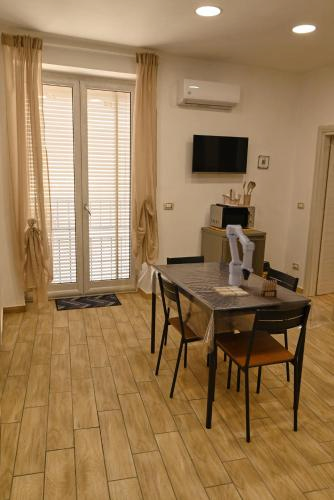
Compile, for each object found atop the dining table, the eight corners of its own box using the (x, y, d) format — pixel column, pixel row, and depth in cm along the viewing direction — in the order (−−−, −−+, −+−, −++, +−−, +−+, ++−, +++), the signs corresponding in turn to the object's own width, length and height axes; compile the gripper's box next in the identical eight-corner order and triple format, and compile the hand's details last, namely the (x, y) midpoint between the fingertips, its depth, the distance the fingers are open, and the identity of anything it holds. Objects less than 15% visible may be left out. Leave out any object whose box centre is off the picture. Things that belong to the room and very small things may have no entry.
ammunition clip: (274, 296, 263) (276, 278, 261) (276, 297, 262) (278, 279, 259) (260, 297, 260) (262, 279, 258) (262, 298, 258) (263, 280, 256)
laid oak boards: (212, 290, 271) (213, 287, 271) (225, 289, 274) (225, 286, 273) (223, 298, 254) (223, 295, 254) (236, 297, 257) (237, 294, 256)
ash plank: (226, 289, 274) (226, 286, 273) (237, 289, 276) (237, 286, 276) (237, 297, 257) (238, 294, 256) (249, 297, 259) (249, 294, 259)
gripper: (237, 257, 271) (235, 277, 274) (246, 262, 257) (245, 283, 260) (247, 257, 273) (245, 277, 276) (256, 262, 259) (254, 282, 262)
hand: (245, 280), depth 268 cm, fingers closed
